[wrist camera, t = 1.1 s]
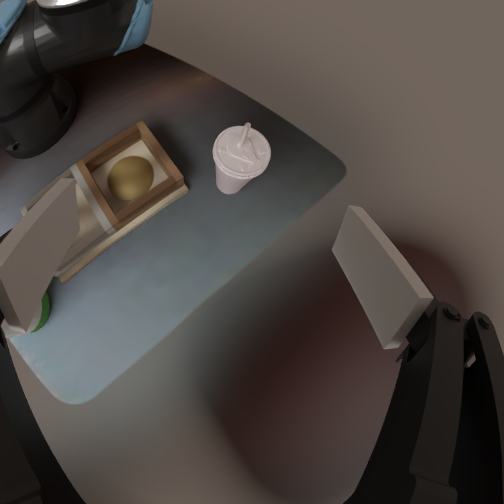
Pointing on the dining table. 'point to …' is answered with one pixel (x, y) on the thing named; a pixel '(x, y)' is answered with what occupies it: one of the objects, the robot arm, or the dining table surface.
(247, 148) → the smoothie
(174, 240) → the dining table surface
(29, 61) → the robot arm
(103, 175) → the board
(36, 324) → the wine bottle
